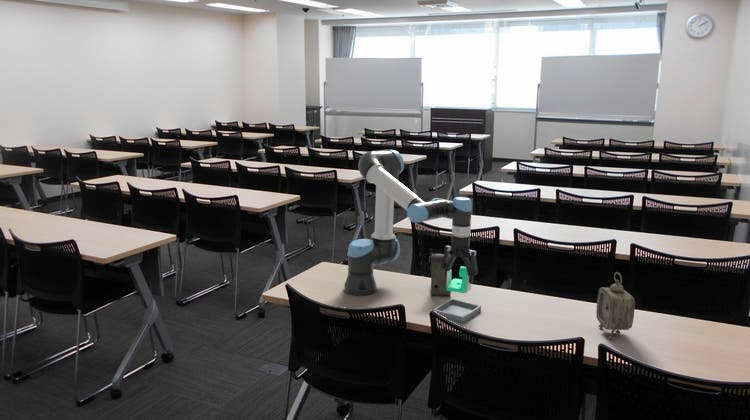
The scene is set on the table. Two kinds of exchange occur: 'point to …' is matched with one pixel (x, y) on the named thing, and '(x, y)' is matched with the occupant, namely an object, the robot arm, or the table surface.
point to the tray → (458, 310)
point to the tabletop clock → (615, 308)
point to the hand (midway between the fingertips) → (458, 287)
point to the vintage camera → (438, 276)
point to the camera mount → (459, 282)
